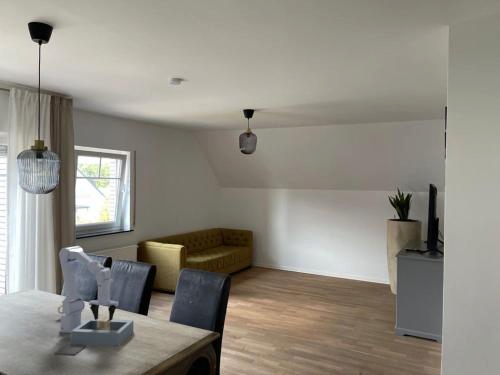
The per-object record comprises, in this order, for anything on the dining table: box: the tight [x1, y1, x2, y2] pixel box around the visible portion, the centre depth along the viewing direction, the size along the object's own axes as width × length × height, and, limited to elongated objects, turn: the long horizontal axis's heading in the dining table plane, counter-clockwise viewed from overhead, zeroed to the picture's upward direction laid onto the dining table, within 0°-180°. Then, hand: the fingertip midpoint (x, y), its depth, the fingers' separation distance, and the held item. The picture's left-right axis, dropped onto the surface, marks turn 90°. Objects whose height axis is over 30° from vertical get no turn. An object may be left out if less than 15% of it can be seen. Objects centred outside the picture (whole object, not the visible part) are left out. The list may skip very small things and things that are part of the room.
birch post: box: [97, 317, 110, 331], centre depth 194 cm, size 4×4×7 cm
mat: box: [53, 343, 87, 356], centre depth 179 cm, size 10×10×1 cm
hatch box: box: [70, 317, 134, 347], centre depth 194 cm, size 24×18×6 cm
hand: (103, 319), depth 194 cm, fingers open, 7 cm apart
